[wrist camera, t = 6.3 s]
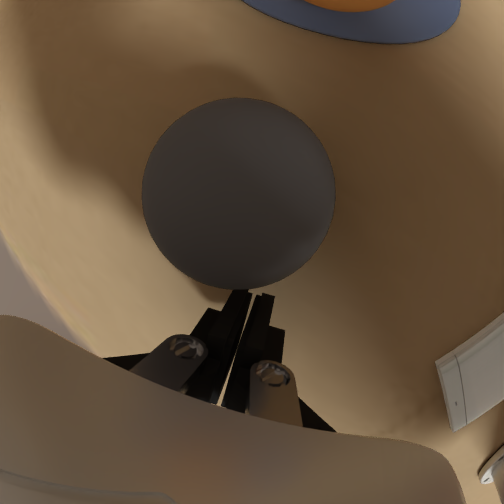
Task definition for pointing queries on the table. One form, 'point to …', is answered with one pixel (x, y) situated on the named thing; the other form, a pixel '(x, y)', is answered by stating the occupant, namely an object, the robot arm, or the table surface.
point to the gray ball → (238, 193)
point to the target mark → (368, 19)
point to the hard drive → (473, 375)
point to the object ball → (350, 4)
